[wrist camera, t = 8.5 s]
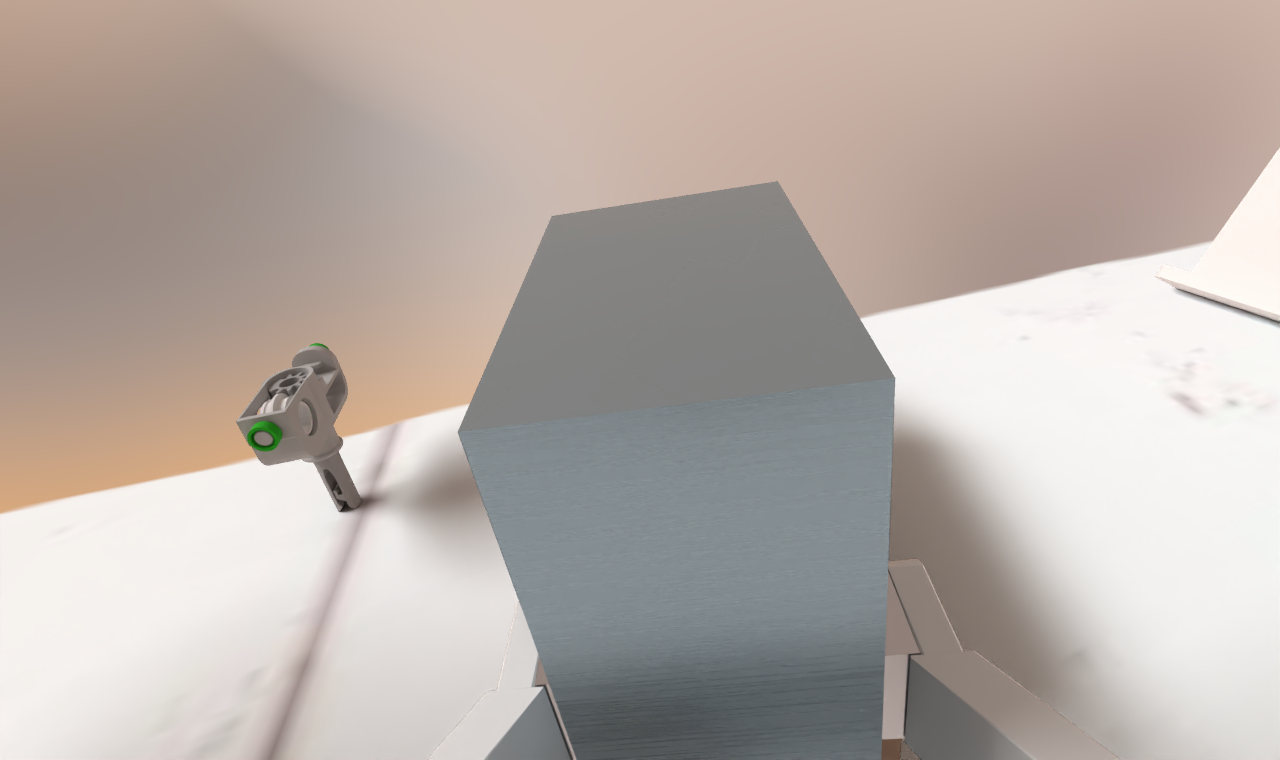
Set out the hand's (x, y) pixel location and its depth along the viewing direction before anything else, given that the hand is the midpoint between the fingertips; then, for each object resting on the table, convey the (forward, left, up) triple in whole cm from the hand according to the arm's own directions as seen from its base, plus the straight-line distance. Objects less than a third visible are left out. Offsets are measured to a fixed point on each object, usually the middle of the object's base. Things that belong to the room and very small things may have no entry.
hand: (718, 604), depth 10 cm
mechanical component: (-25, +27, -19) cm, 41 cm away
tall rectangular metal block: (0, -1, -9) cm, 9 cm away
